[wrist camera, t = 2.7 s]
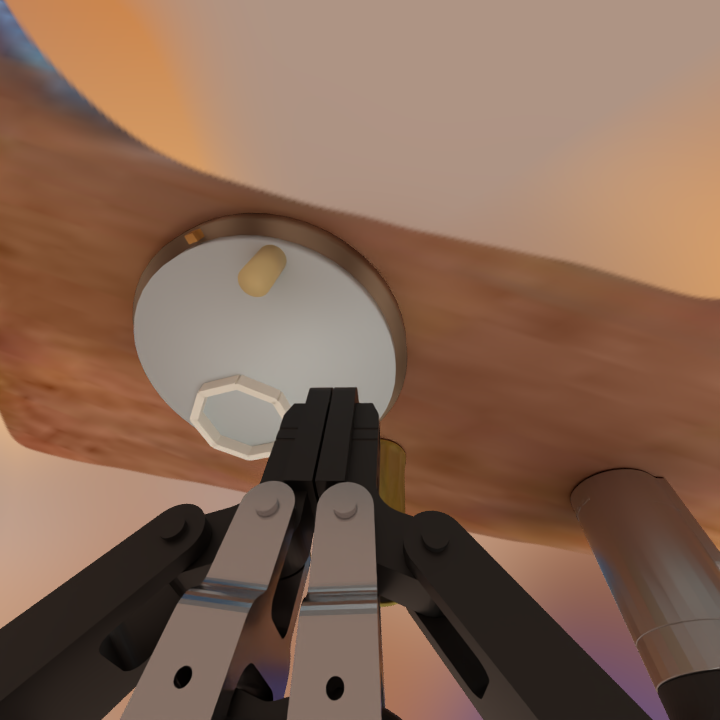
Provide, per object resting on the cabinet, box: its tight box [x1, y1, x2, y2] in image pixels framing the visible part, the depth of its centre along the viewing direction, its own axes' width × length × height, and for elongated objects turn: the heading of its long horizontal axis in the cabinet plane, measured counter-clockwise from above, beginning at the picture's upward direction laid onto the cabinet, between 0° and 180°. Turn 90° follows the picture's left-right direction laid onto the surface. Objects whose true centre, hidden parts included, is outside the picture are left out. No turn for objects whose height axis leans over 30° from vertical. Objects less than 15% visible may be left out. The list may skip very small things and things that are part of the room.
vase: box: [379, 439, 406, 607], centre depth 35 cm, size 6×6×14 cm
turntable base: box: [133, 213, 407, 422], centre depth 32 cm, size 24×24×3 cm
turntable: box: [134, 235, 396, 461], centre depth 30 cm, size 22×22×6 cm
